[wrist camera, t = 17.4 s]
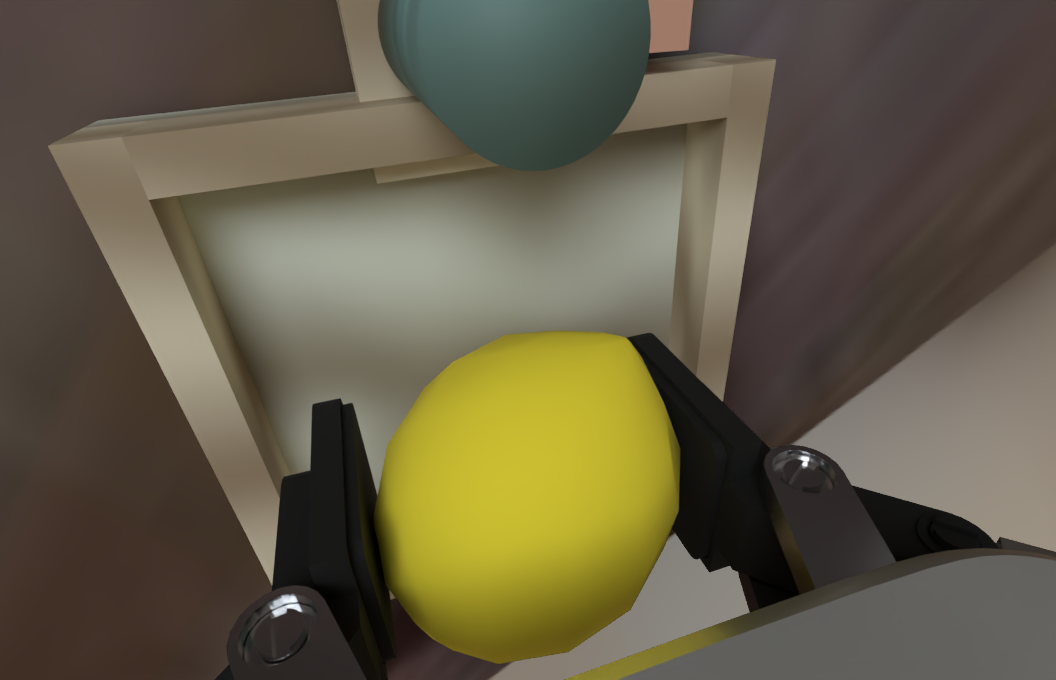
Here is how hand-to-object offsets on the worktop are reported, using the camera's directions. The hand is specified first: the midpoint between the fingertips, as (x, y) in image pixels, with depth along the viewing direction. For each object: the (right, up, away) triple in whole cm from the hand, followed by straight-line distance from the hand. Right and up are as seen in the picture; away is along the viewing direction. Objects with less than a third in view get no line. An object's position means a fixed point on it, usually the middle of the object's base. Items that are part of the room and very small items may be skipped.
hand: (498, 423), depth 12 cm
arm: (-1, +4, +1) cm, 5 cm away
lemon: (0, 0, +1) cm, 1 cm away
